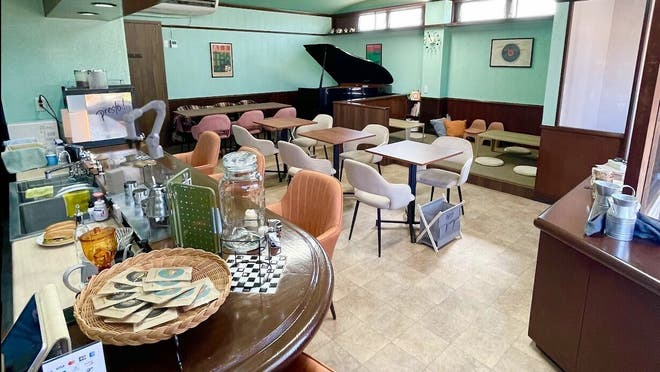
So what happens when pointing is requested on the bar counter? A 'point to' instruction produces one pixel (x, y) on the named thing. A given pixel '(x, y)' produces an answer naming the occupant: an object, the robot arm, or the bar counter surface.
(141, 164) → the stand
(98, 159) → the teacup with lid
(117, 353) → the bar counter surface
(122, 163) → the stand
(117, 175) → the supplement box
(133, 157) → the block
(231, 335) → the bar counter surface
